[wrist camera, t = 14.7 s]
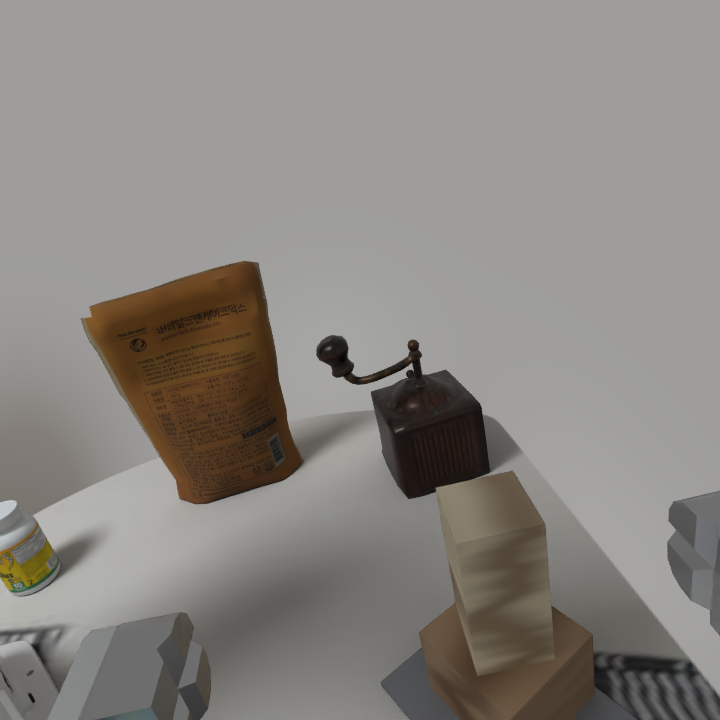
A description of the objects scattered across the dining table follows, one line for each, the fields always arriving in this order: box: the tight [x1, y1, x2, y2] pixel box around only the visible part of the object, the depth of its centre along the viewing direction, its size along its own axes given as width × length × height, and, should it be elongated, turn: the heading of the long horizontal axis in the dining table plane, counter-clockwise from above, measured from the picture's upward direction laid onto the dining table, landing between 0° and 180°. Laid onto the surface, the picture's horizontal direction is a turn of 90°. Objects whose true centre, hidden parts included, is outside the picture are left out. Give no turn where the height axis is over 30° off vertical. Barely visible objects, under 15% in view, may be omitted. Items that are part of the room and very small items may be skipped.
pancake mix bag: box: [81, 261, 304, 504], centre depth 63 cm, size 7×19×28 cm, turn 103°
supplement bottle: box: [0, 500, 60, 596], centre depth 58 cm, size 5×5×10 cm
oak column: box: [436, 471, 555, 676], centre depth 34 cm, size 5×5×11 cm
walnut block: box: [419, 603, 595, 720], centre depth 37 cm, size 8×8×6 cm
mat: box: [381, 648, 637, 720], centre depth 37 cm, size 16×11×1 cm
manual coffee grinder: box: [316, 335, 490, 499], centre depth 61 cm, size 16×11×18 cm
